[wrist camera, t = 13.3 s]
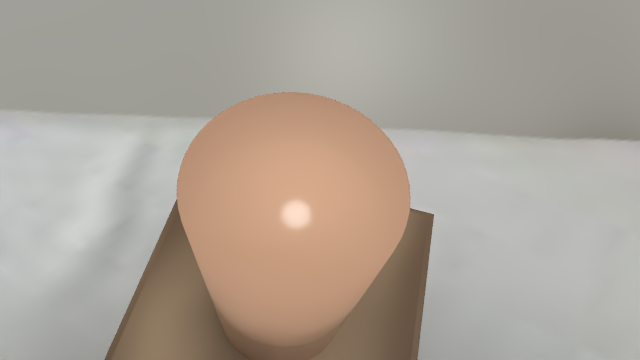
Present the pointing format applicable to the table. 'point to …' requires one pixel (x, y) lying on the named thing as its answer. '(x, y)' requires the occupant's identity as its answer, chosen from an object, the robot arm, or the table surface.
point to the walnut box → (205, 328)
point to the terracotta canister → (290, 218)
